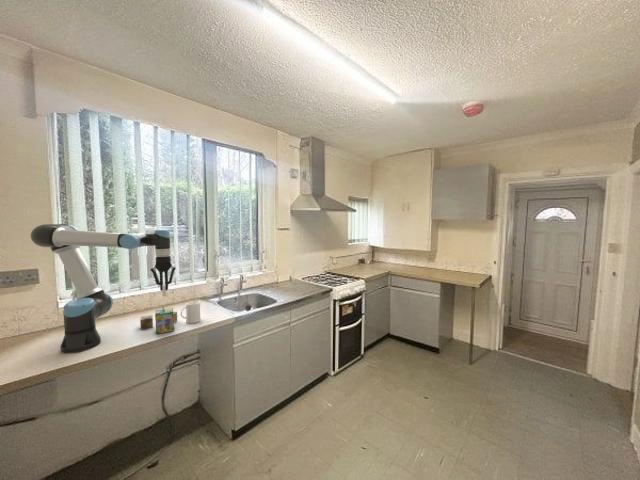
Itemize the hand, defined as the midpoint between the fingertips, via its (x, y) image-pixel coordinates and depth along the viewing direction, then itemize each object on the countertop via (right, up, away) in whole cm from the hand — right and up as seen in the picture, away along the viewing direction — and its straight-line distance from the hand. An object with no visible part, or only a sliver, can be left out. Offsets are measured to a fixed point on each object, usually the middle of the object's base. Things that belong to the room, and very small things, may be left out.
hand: (164, 295), depth 153 cm
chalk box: (0, -21, +1) cm, 21 cm away
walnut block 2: (-4, -20, +13) cm, 24 cm away
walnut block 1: (-14, -20, +5) cm, 25 cm away
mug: (+8, -20, +15) cm, 26 cm away
